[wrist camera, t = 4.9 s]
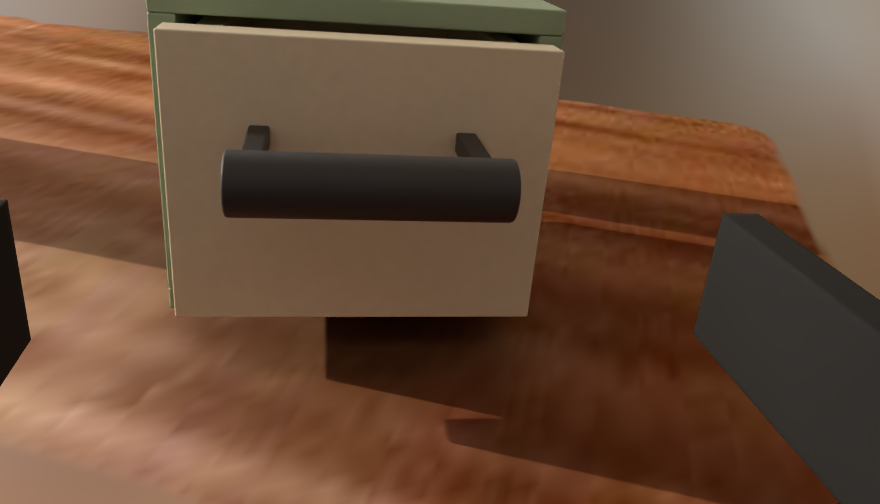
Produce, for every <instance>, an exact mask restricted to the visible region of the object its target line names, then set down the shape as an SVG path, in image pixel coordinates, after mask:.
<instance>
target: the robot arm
mask: <svg viewBox="0 0 880 504" xmlns="http://www.w3.org/2000/svg"><path fill="white" fill-rule="evenodd" d="M693 334H694V335H695V337H696V338H697V339H698V340H699V341H700V342H701V344H702V345H703V346H704V347H705V348H706V349H707V350H708V352H709V353H710V354H711V355H712V356H713V357H714V359H715V360H716V361H717V362H718V363H719V364H720V365H721V367H722V368H723V369H724V370H725V371H726V372H727V373H728V375H729V376H730V377H731V378H732V379H733V380H734V382H735V383H736V384H737V385H738V386H739V387H740V388H741V390H742V391H743V392H744V393H745V394H746V395H747V397H748V398H749V399H750V400H751V401H752V402H753V403H754V405H755V406H756V407H757V408H758V409H759V410H760V412H761V413H762V414H763V415H764V416H765V417H766V418H767V420H768V421H769V422H770V423H771V424H772V425H773V426H774V428H775V429H776V430H777V431H778V432H779V433H780V435H781V436H782V437H783V438H784V439H785V440H786V441H787V443H788V444H789V445H790V446H791V447H792V448H793V450H794V451H795V452H796V453H797V454H798V455H799V456H800V458H801V459H802V460H803V461H804V462H805V463H806V465H807V466H808V467H809V468H810V469H811V470H812V471H813V473H814V474H815V475H816V476H817V477H818V478H819V479H820V481H821V482H822V483H823V484H824V485H825V486H826V488H827V489H828V490H829V491H830V492H831V493H832V494H833V496H834V497H835V498H836V499H837V500H838V501H839V503H840V504H880V300H879V299H877V298H875V297H874V296H873V295H872V294H870V293H869V292H867V291H866V290H864V289H863V288H862V287H860V286H859V285H857V284H856V283H854V282H853V281H852V280H850V279H849V278H847V277H846V276H845V275H843V274H842V273H841V272H839V271H838V270H836V269H835V268H833V267H832V266H831V265H829V264H828V263H826V262H825V261H824V260H822V259H821V258H819V257H818V256H817V255H815V254H814V253H812V252H811V251H810V250H808V249H807V248H805V247H804V246H802V245H801V244H800V243H798V242H797V241H795V240H794V239H793V238H791V237H790V236H788V235H787V234H786V233H784V232H783V231H781V230H780V229H778V228H777V227H776V226H774V225H773V224H771V223H770V222H769V221H767V220H766V219H764V218H763V217H762V216H760V215H759V214H723V215H722V219H721V223H720V227H719V231H718V235H717V239H716V243H715V247H714V251H713V255H712V259H711V263H710V267H709V271H708V276H707V280H706V284H705V288H704V292H703V296H702V300H701V304H700V308H699V312H698V316H697V320H696V324H695V328H694V332H693ZM30 340H31V338H30V332H29V326H28V320H27V314H26V308H25V302H24V296H23V290H22V284H21V279H20V273H19V267H18V261H17V255H16V249H15V243H14V237H13V231H12V225H11V219H10V213H9V208H8V202H7V200H0V386H1V384H2V383H3V381H4V380H5V378H6V377H7V375H8V374H9V372H10V371H11V369H12V368H13V366H14V365H15V363H16V362H17V360H18V359H19V357H20V355H21V354H22V352H23V351H24V349H25V348H26V346H27V345H28V343H29V342H30Z"/></svg>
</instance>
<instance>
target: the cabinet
mask: <svg viewBox="0 0 880 504" xmlns="http://www.w3.org/2000/svg"><path fill="white" fill-rule="evenodd" d="M146 9H147V11H148V13H147V22H148V36H149V48H150V61H151V74H152V86H153V99H154V112H155V124H156V137H157V150H158V162H159V175H160V188H161V200H162V213H163V226H164V238H165V251H166V264H167V277H168V286H169V301H170V307H171V308H175V307H174V294H173V281H172V268H171V255H170V242H169V228H168V215H167V202H166V189H165V176H164V163H163V149H162V136H161V123H160V110H159V97H158V84H157V70H156V57H155V44H154V31H153V30H154V28H156V27H157V26H158V25H160V24H161V23H163V22H167V23H184V24H197V23H198V22H199V21H200V20H201V19H202V18H203V17H204V16H205V15H209V16H226V17H243V18H259V19H276V20H293V21H310V22H326V23H343V24H360V25H376V26H393V27H410V28H426V29H443V30H460V31H477V32H493V33H506V34H507V35H508V36H510V37H511V38H513V39H514V40H515V41H517V42H518V43H530V44H547V45H554V46H556V47H557V48H559V49H560V50H562V43H563V37H561V36H563V35H564V29H565V22H566V15H567V12H566V11H565V10H563V9H560V8H558V7H556V6H554V5H552V4H549V3H547V2H545V1H543V0H146Z"/></svg>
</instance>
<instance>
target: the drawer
mask: <svg viewBox="0 0 880 504" xmlns="http://www.w3.org/2000/svg"><path fill="white" fill-rule="evenodd" d="M153 31H154V44H155V57H156V70H157V84H158V97H159V110H160V123H161V136H162V149H163V163H164V176H165V189H166V202H167V215H168V228H169V242H170V255H171V268H172V281H173V294H174V307H175V316H176V317H526V316H527V315H528V308H529V301H530V293H531V286H532V279H533V272H534V265H535V258H536V251H537V244H538V237H539V230H540V223H541V216H542V209H543V202H544V195H545V188H546V181H547V174H548V167H549V160H550V153H551V146H552V139H553V132H554V125H555V118H556V111H557V104H558V97H559V89H560V82H561V76H562V69H563V62H564V55H565V53H564V51H562V50H560V49H559V48H557V47H556V46H554V45H547V44H530V43H518V42H517V41H515V40H514V39H513V38H511V37H510V36H508V35H507V34H506V33H493V32H477V31H460V30H443V29H426V28H410V27H393V26H376V25H360V24H343V23H326V22H310V21H293V20H276V19H259V18H243V17H226V16H209V15H205V16H204V17H203V18H202V19H201V20H200V21H199V22H198V23H197V24H184V23H167V22H163V23H161V24H160V25H158V26H157V27H156V28H154V30H153Z"/></svg>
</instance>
